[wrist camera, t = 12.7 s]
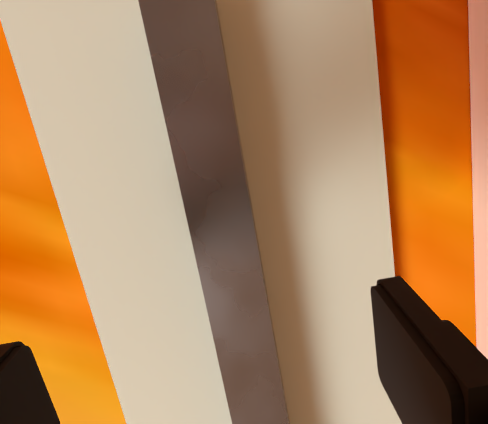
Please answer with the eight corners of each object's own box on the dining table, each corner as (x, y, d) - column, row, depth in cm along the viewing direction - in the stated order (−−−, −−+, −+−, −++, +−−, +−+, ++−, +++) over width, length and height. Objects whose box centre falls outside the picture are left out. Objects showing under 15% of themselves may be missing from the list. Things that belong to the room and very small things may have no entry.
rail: (154, 13, 14) (137, -5, 12) (216, 1, 14) (211, -20, 12) (251, 467, 20) (252, 514, 18) (296, 461, 20) (303, 507, 18)
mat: (2, -8, 15) (-10, -15, 14) (357, -81, 14) (364, -92, 14) (157, 496, 22) (153, 510, 21) (405, 461, 21) (411, 475, 20)
